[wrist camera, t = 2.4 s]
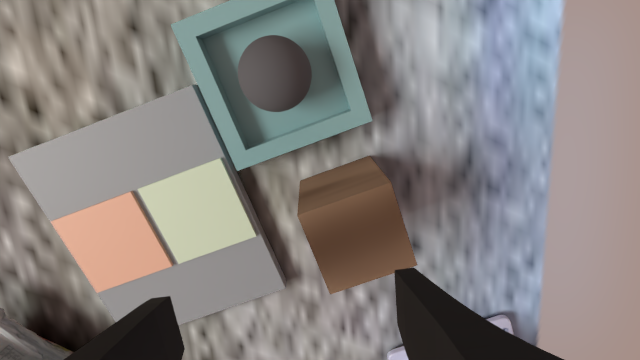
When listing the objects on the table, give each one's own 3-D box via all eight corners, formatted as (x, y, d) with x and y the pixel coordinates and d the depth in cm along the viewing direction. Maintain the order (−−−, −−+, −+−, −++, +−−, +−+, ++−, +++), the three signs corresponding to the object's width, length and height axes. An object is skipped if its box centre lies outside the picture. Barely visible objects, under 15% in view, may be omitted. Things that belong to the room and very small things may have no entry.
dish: (366, 117, 18) (372, 120, 16) (243, 163, 18) (237, 171, 17) (320, -26, 16) (322, -38, 14) (183, 30, 16) (170, 24, 15)
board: (286, 280, 20) (285, 290, 19) (135, 332, 21) (127, 344, 20) (197, 84, 17) (190, 85, 16) (20, 153, 17) (4, 157, 17)
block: (390, 219, 19) (417, 265, 15) (324, 241, 20) (330, 294, 15) (369, 155, 18) (391, 182, 13) (300, 180, 19) (297, 215, 14)
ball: (320, 95, 17) (323, 98, 14) (260, 118, 17) (250, 126, 14) (297, 29, 16) (294, 16, 13) (234, 54, 16) (216, 47, 13)
